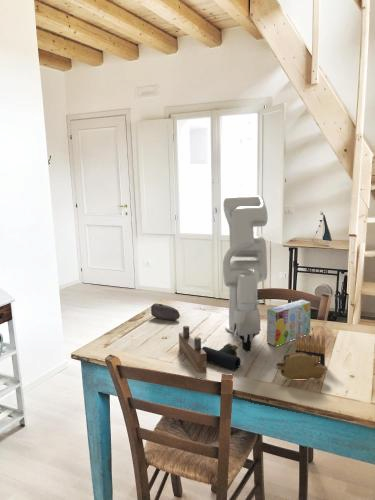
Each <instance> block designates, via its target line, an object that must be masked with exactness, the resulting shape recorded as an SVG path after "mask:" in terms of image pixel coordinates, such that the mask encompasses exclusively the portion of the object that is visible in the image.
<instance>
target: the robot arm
mask: <svg viewBox="0 0 375 500" xmlns="http://www.w3.org/2000/svg"><path fill="white" fill-rule="evenodd" d="M223 213H224V216H225V218H226V222H227V224H228V229H229V248H228V250H227V251H226V252H225V254H224V257H223V262H222V278H223V284H224V286H225V287H226V288H227V287H228V322H227V323H226V324H225V330H226V331H227V332H230V333H232V334H233V338H234V339H240V340H241V341H242V342H241V343H242V346H241V347H242V350H244V352H246V353H248V352H251V348H252V341H254V338H255V337H256V336H258V335H259V334H260V331H261V318H260V317H261V315H260V310H259V308H258V305H260V300H258V284H259V282H260V283H261V282H265V281H266V280H267V278H268V252H267V243H266V240H265V238H264V237H263V236H261V235H254V234H255V233H254V227H255V228H256V227H265V226H266V225H267V223H268V219H269V218H268V217H269V215H268V209H267V206H266V203H265V199H264V197H263V196H261V195H258V194H257V195H230V196H227V197H225V199H224V200H223ZM233 257H235V258H253V259H251V260H249V259H248V260H247V259H243V260H242V259H241V260H233V261H231V259H232V258H233ZM254 259H255V260H254Z"/></svg>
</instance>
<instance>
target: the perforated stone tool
mask: <svg viewBox="0 0 375 500" xmlns="http://www.w3.org/2000/svg"><path fill="white" fill-rule="evenodd" d="M150 314H151V316H152V317H154V318H157V319H161V320H168V321H169V320H170V321H175V320H179V318H181V314H180V312H179V310H178V309H176V308H175V307H172V306H170V305H166V304H162V303H154V304H152V305H151V306H150Z"/></svg>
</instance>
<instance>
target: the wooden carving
mask: <svg viewBox="0 0 375 500" xmlns="http://www.w3.org/2000/svg"><path fill="white" fill-rule="evenodd" d="M275 365H276V367H275V368H276V369H277V370H279V371H280V375H281V376H282V377H284V378H286V379H289V380H291V379H308V380H310V379H315V380H321V378H322V377H323V374H324V373H325V372H326V370H327V369H326V367H324V365H322V364H321V363H318V362H316V360H315V357H314V356H313V354H312V355H309V354H307V353H302V352H299V353H295V352H293V353H288V354H284V356H283V362H277V363H276V364H275Z"/></svg>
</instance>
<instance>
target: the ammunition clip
mask: <svg viewBox="0 0 375 500" xmlns="http://www.w3.org/2000/svg"><path fill="white" fill-rule="evenodd" d="M300 339H301V340H300ZM320 340H321V341H320ZM299 352H302V353H307V354H309V355H312V354H313V356H314V357H315V360H316V362H318V363H319V362H320V363H321V364H322V365H325V366H326V364H325V363H326V339H325V335H324V334H323V335H322V337H321V339H320V335H319V334H317V336H316V340H315V334H314V333H312V334H311V338H310V335H309V333H308V334H307V336H304V333H302V337H301V338H300V335H299V332H298V333H297V337H296V340H295V350H294V353H299Z"/></svg>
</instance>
